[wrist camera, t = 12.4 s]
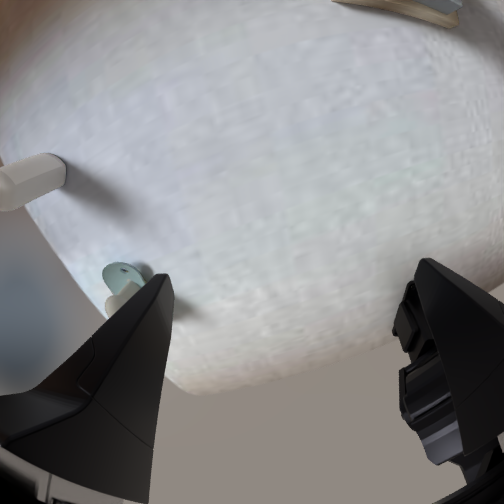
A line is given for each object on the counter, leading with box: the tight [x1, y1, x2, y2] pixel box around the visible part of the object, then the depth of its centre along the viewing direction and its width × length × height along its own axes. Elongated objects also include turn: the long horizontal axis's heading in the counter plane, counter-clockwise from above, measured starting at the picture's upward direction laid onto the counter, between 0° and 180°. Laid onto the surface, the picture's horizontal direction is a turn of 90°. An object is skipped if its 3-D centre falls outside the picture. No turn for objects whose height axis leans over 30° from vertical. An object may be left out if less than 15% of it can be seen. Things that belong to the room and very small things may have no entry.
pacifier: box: [102, 262, 147, 318], centre depth 25 cm, size 7×6×6 cm
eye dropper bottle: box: [0, 153, 66, 212], centre depth 17 cm, size 4×6×12 cm
